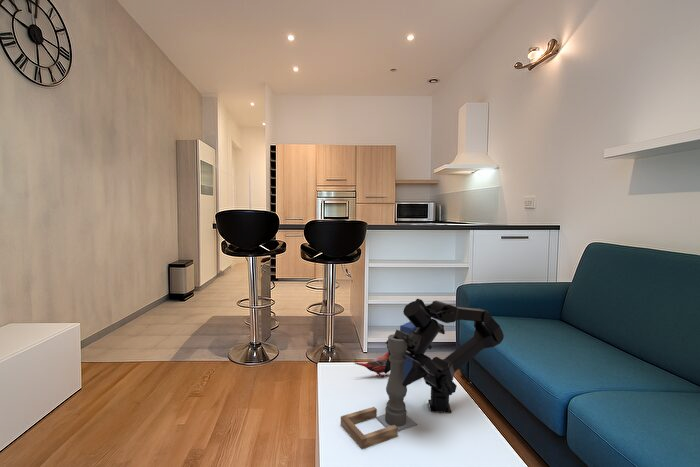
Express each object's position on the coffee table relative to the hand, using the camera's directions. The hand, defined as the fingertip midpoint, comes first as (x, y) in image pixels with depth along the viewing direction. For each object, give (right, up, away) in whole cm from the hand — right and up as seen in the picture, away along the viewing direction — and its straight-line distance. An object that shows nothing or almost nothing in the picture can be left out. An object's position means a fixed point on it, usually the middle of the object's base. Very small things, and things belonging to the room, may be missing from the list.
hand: (393, 379), depth 104 cm
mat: (+1, -13, +1) cm, 13 cm away
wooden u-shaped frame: (-7, -13, -3) cm, 15 cm away
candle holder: (+1, -13, +1) cm, 13 cm away
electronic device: (+10, -12, +32) cm, 36 cm away
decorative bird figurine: (-3, -12, +30) cm, 32 cm away
